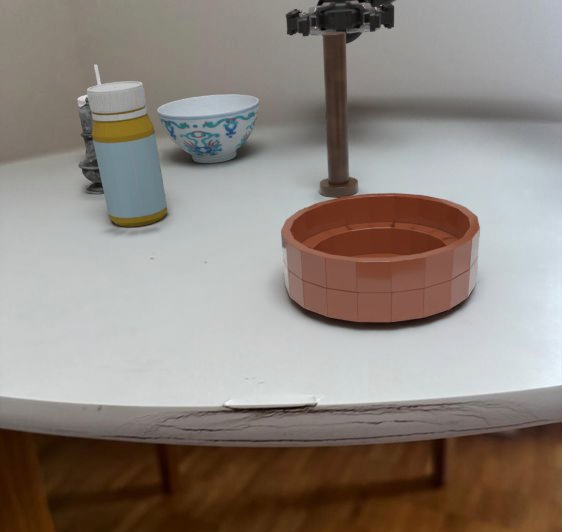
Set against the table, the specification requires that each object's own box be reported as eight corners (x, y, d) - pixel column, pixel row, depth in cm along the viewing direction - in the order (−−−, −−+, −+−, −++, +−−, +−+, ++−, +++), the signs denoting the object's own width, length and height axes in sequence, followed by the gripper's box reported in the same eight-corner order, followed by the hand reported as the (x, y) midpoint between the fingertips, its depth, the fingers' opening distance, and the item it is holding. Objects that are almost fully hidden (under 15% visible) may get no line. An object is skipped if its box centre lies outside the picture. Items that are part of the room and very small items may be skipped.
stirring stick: (353, 183, 90) (349, 29, 80) (362, 194, 85) (360, 33, 76) (316, 188, 89) (309, 33, 80) (324, 199, 85) (317, 37, 76)
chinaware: (226, 174, 97) (219, 117, 93) (145, 166, 105) (136, 113, 101) (281, 148, 108) (277, 95, 104) (205, 142, 115) (198, 93, 111)
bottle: (104, 216, 86) (75, 87, 78) (157, 204, 88) (135, 78, 80) (119, 232, 80) (91, 95, 72) (176, 219, 83) (155, 85, 75)
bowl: (435, 243, 70) (438, 184, 67) (506, 315, 56) (513, 245, 53) (274, 264, 69) (269, 205, 66) (305, 343, 55) (300, 273, 52)
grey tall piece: (114, 179, 100) (96, 90, 94) (134, 186, 96) (117, 94, 90) (76, 189, 97) (55, 98, 91) (95, 197, 93) (75, 103, 87)
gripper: (391, 37, 102) (395, 53, 88) (295, 43, 104) (284, 60, 90) (392, -22, 98) (395, -14, 85) (292, -14, 100) (280, -5, 86)
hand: (338, 24), depth 87 cm, fingers open, 8 cm apart
